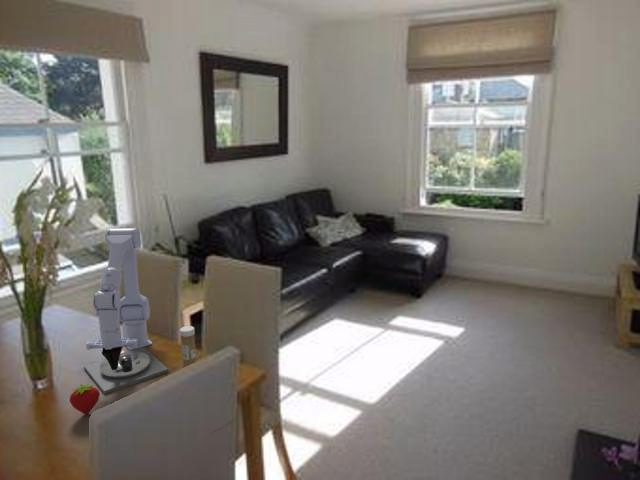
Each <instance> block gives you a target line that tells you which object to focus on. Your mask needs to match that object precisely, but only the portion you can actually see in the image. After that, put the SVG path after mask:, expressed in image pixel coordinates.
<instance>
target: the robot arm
mask: <svg viewBox="0 0 640 480" xmlns="http://www.w3.org/2000/svg"><path fill="white" fill-rule="evenodd" d="M141 238H142V237H141V233H140V230H139V229H138V228H137V227H133V228H132V227H131V228H126V227H125V228H111V227H110V228H108V229H107V230H106V231H105V243H106V246H107V248H108V250H109V254H108V263H107V268H106V269H104V270H103V271H102V275H101V278H100V283H99V288H98V291H97V292H95V293H94V295H93V302H92V303H93V309H94V310H95V315H96V316H97V317H98V324H99V332H100V339H95V340H89V341H87V342H86V345H85V347H86V350H89V351H90V350H92V349H102V351H101V355H102V356H103V357H104V359H107V361H108V362H109V364H110V367H111V369H112V370H117V368H118V361H119V357H120V353H121V351H123V348H127V349H128V350H129V351H133V350H136V349H140V348H143V347H144V348H145V347H147V346H150V345H152V344H153V342H152V341H151V340H150V339H148V329H147V321H148V320H149V319H150V317H151V307H150V306H151V305H150V303H149V298H148V297H146V296H145V295H142V294H141V293H140V284H139V273H138V260H137V251H138V250H140V249H141V248H142V239H141ZM121 267H122V272H121ZM122 278H123V287H124V296H123V297H122V298H121V290H120V288H121V284H122ZM121 322H122V324H121ZM121 325H122V329H121ZM122 334H123V335H122ZM122 336H123V337H122Z"/></svg>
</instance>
